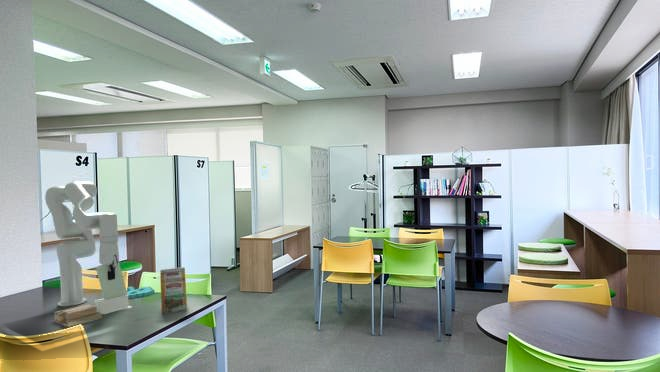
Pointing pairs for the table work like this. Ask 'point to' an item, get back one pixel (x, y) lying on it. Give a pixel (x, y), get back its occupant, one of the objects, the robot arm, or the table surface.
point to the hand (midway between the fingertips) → (110, 279)
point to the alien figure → (139, 292)
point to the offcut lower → (76, 318)
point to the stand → (112, 304)
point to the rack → (78, 321)
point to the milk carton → (173, 290)
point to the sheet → (111, 282)
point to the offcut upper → (79, 311)
